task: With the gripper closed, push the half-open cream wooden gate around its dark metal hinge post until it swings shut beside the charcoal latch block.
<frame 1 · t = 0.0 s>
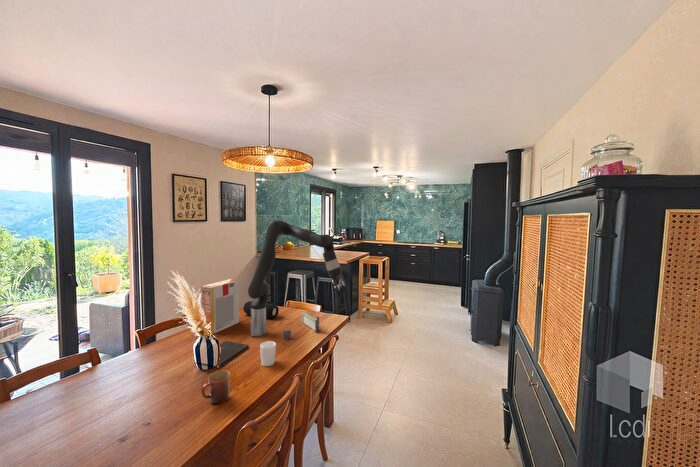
hand: (342, 295, 164), 31 cm above the table, tool tilted 20°, fingers open, 8 cm apart
hardcover book: (222, 356, 156), on the table
mug: (216, 402, 118), on the table
white cup: (268, 363, 149), on the table
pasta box: (221, 327, 193), on the table
portable speaker: (260, 316, 215), on the table
hinge post: (317, 332, 188), on the table
latch block: (287, 338, 178), on the table
gate: (309, 321, 196), point 4 cm above the table, hinge at 0.0°
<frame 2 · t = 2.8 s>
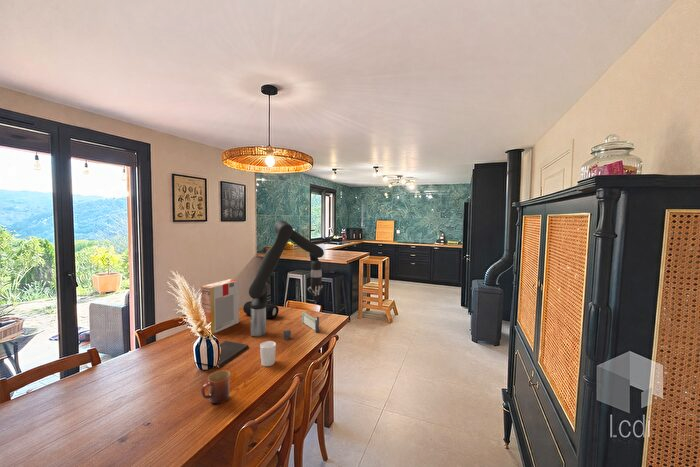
hand: (315, 300, 200), 17 cm above the table, tool pointing down, fingers closed
nothing on the table moved.
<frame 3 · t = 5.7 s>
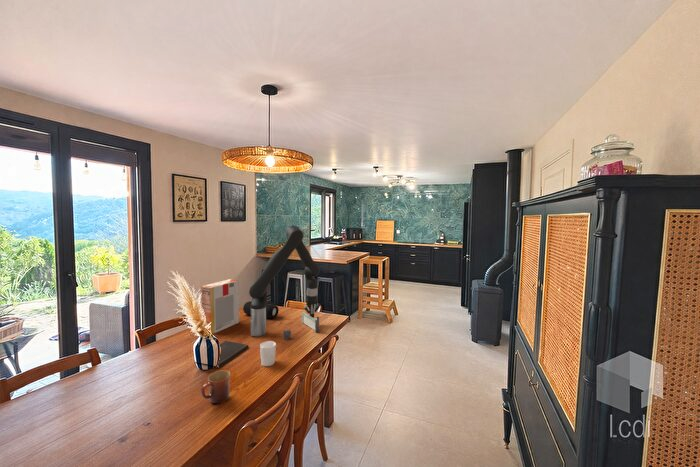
hand: (312, 318, 200), 4 cm above the table, tool pointing down, fingers closed
gate: (309, 321, 196), point 4 cm above the table, hinge at 0.3°, touching gripper
everything else where it was.
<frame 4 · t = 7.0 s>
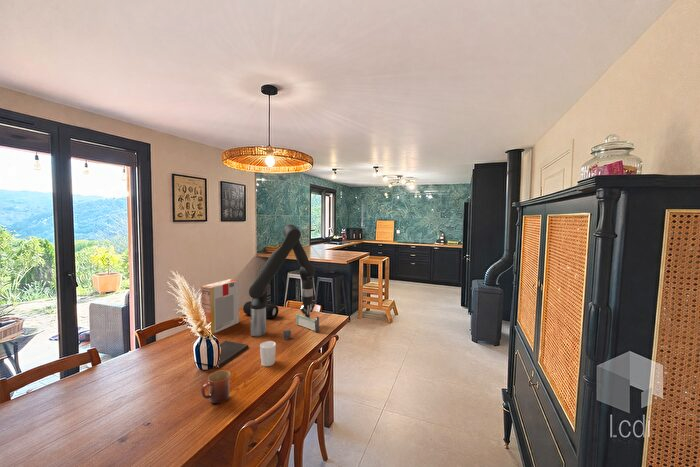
hand: (307, 319, 198), 5 cm above the table, tool pointing down, fingers closed
gate: (306, 322, 195), point 4 cm above the table, hinge at 14.7°, touching gripper
everything else where it was.
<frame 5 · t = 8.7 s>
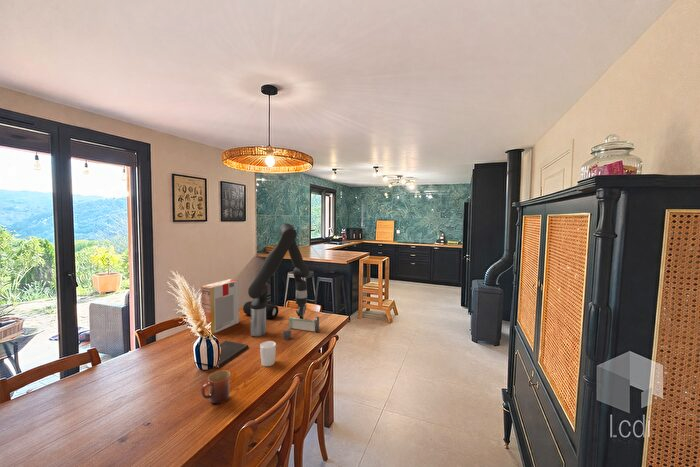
hand: (301, 321, 194), 5 cm above the table, tool pointing down, fingers closed
gate: (302, 324, 191), point 4 cm above the table, hinge at 37.7°, touching gripper
everything else where it was.
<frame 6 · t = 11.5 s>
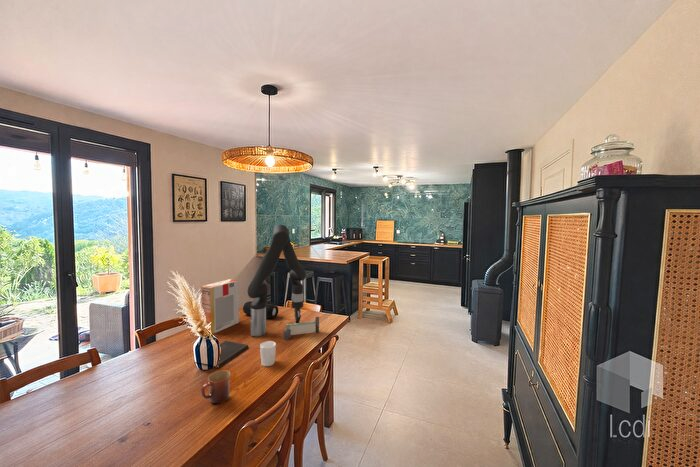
hand: (297, 325, 186), 4 cm above the table, tool pointing down, fingers closed
gate: (300, 328, 184), point 4 cm above the table, hinge at 73.9°, touching gripper
everything else where it was.
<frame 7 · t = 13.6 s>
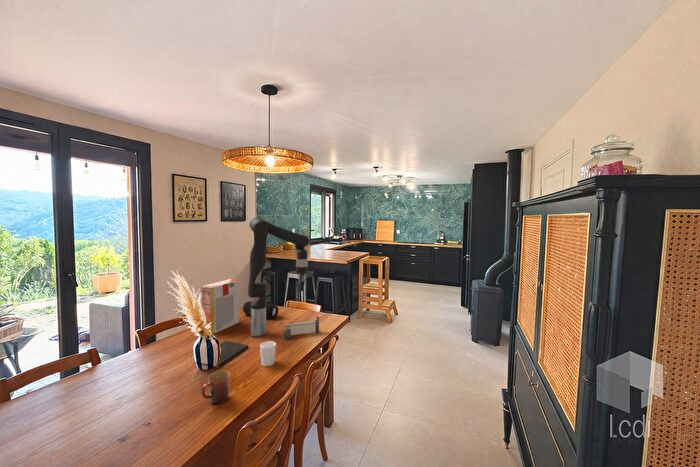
hand: (301, 290, 193), 25 cm above the table, tool pointing down, fingers closed
gate: (300, 328, 184), point 4 cm above the table, hinge at 74.0°
everything else where it was.
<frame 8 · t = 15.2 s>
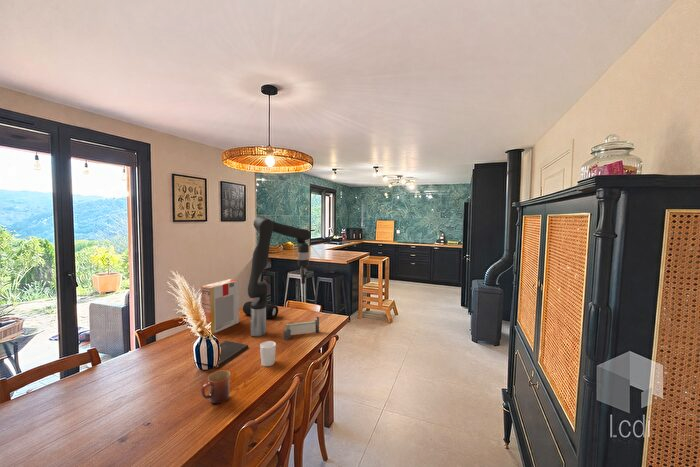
hand: (303, 283, 199), 29 cm above the table, tool pointing down, fingers closed
nothing on the table moved.
at the end: gate at +74° (first picture: +0°) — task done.
